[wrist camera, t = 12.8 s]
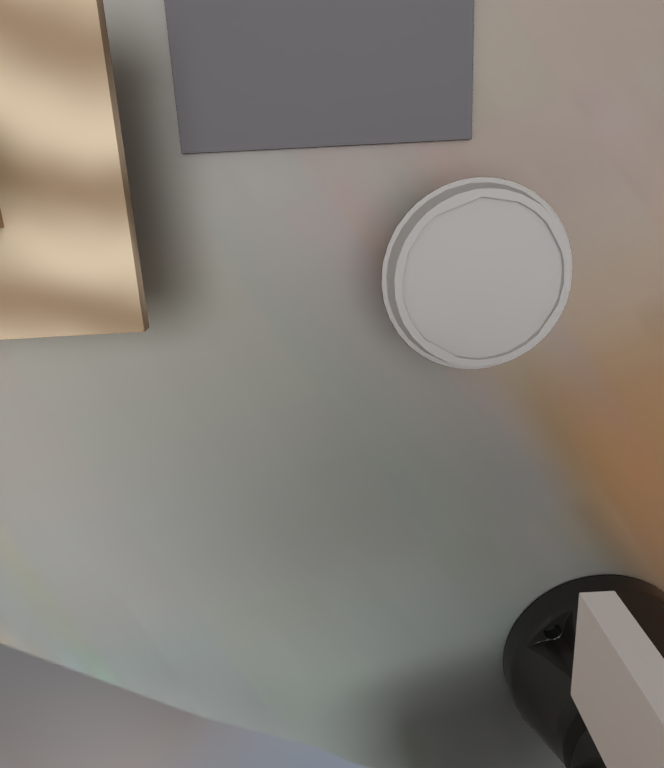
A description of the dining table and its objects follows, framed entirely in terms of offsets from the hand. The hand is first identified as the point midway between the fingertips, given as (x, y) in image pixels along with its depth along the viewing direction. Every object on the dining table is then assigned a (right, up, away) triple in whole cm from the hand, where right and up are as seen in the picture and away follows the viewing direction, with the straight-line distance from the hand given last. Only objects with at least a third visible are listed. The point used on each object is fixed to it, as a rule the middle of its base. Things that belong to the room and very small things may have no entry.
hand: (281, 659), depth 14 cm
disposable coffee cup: (+8, +15, +28) cm, 33 cm away
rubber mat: (0, +29, +23) cm, 37 cm away
